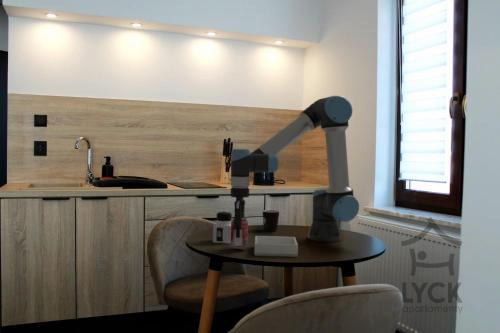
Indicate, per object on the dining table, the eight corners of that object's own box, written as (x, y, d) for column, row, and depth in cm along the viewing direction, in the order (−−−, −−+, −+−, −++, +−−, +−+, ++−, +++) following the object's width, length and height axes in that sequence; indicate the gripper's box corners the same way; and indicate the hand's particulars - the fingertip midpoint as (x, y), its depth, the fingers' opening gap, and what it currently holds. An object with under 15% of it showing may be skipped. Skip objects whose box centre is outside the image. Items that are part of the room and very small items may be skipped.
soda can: (231, 245, 189) (232, 216, 189) (248, 245, 188) (249, 216, 188) (229, 248, 182) (229, 219, 182) (246, 249, 181) (247, 219, 181)
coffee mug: (279, 232, 227) (279, 212, 226) (262, 232, 227) (262, 212, 227) (278, 228, 238) (278, 209, 238) (261, 228, 239) (262, 209, 238)
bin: (294, 247, 192) (295, 237, 192) (297, 256, 175) (297, 245, 175) (255, 246, 192) (255, 235, 192) (254, 255, 176) (254, 243, 176)
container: (229, 243, 197) (230, 213, 196) (212, 242, 198) (213, 212, 198) (234, 240, 204) (234, 211, 204) (217, 239, 206) (218, 210, 206)
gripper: (234, 185, 195) (233, 238, 195) (227, 189, 175) (226, 248, 176) (251, 185, 194) (250, 239, 195) (246, 189, 174) (245, 249, 175)
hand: (239, 243), depth 185 cm, fingers closed on soda can, 7 cm apart
